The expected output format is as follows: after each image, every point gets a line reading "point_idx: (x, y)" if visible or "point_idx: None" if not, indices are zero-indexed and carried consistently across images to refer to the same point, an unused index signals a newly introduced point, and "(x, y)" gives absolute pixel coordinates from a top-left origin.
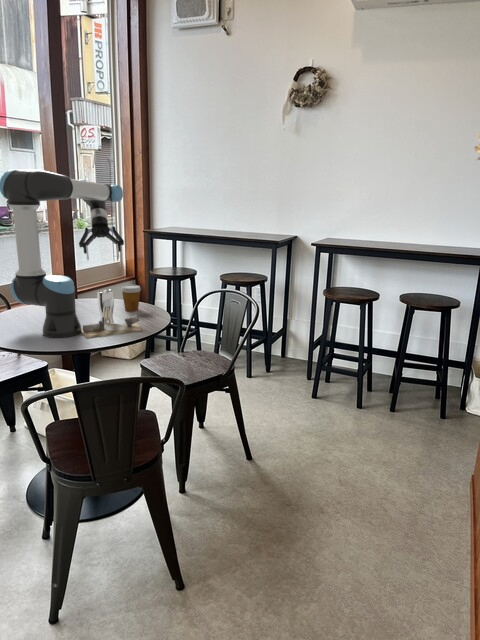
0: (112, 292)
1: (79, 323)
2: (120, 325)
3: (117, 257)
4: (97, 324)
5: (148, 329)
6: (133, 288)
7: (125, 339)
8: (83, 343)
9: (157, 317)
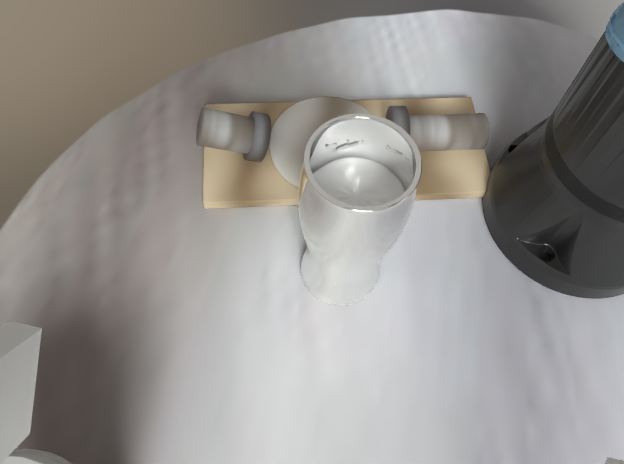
0: (314, 134)
1: (504, 164)
2: (296, 152)
3: (18, 439)
4: (419, 116)
5: (175, 113)
6: (9, 456)
7: (316, 39)
8: (481, 55)
9: (18, 288)
